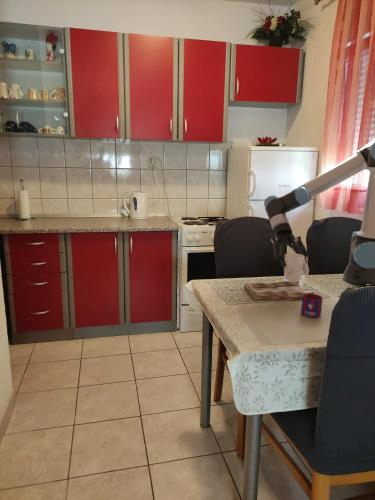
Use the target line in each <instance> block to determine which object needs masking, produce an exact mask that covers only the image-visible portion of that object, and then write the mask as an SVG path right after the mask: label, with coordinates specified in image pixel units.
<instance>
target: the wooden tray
mask: <svg viewBox="0 0 375 500" xmlns="http://www.w3.org/2000/svg"><path fill="white" fill-rule="evenodd" d="M243 286H244V288H245V289H246V291H247V292H248V293H249V294H250V296H251V297H252V298H253V300H254V301H282V300H283V301H287V300H288V301H289V300H294V301H295V300H302V297H303V295H304V294H311V293H314V291H312V290H311V291H309V290H308V291H307V290H305V289H304V288H303V287H302V286H301V285H300V281H289V280H272V281H260V282H259V281H255V282H253V281H251V282H250V281H249V282H245V284H244V285H243Z"/></svg>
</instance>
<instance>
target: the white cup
mask: <svg viewBox="0 0 375 500" xmlns="http://www.w3.org/2000/svg"><path fill="white" fill-rule="evenodd" d="M284 258H286V260H287V261H288V264H289V267H290V270H291V273H290V274H289V275H286V272H285V269H284V268H283V272H284V275H283V276H284V277H283V278H284V279H285V281H299V282H300V281H301V279H302V274H303V272H304V271H303V264H304V258H305V256H303V255H301V254H296V253H295V252H294V253H292V252H291V253H284Z"/></svg>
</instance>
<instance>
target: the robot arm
mask: <svg viewBox="0 0 375 500" xmlns="http://www.w3.org/2000/svg"><path fill="white" fill-rule="evenodd" d="M364 170H367V171H369V177H368V183H367V188H366V194H365V200H364V201H365V202H364V206H363V207H364V209H363V214H362V220H361V226H360V230H359V231H353V232H352V236H351V239H350V240H351V242H350V251H349V257H348V258H349V259H348V264H347V266H346V268H345V270H344V272H343V273H342V274H343V275H342V276H343V277H342V280H344V281H345V282H347V283H351V284H354V285H359V284H375V137H374V138H373V139H372V140H371V141H370V142H368V143H367V144H366V145H365V146H363V147H361V148H360V149H359V150H356V154H354V155H352V156H351V157H349V158H347V159H345V160H343V161H342V162H340V163H339V164H337V165H335V166H333V167H331V168H329V169H328V170H327V171H325V172H323V173H321V174H319V175H317V176H316V177H313V178H311V179H310V180H308V181H307V182H305V183H304V184H302V185H300V186H298V187H297V188H294V189H293V190H291V191H290V192H288V193H286V194H285V195H284V194H283V196H278V195H276V194H273V195H269V196H268V197H266V198H265V199H264V201H263V205H264V210H265V212H266V214H267V217H268V220H269V223H270V225H271V226H270V227H271V228H272V232H273V235H274V236H272V237H271V238H270V240H269V241H270V243H271V246H272V250H273V251H272V252H273V257H274V260H276V261H278V262H279V263H280V265H281V267H282V268H283V270H284V269H285V272H286V275H289V274H290V273H291V270H290V267H289V264H288V261H287V260H286V258H285V251H286V249H285V248H286V247H289V248H290V249H292V251H293V252H294V253H295V254H301V255H303V256H305V258H304V264H303V271H302V272H303V273H304V275H307V274H308V273H309V272H310V268H309V266H308V265H309V263H308V260H307V258H308V257H309V256H310V253H309V252H308V250H307V247H305V245H304V243H303V241H302V237H301V236H300V235H298V236H295V235H294V234H293V230H292V227H291V225H290V222H289V219H288V217H287V215H286V214H287V213H289V212H291V211H293V210H296V209H298V208H300V207H302V206H305V205H306V204H308V203H310V202H311V199H313V198H314V197H316V196H318V195H320V194H322V193H324V192H326V191H327V190H330V189H331V188H333V187H334V186H337V185H338V184H340V183H342V182H344V181H346V180H348V179H350V178H352V177H353V176H355V175H357V174H359V173H360V172H363V171H364Z"/></svg>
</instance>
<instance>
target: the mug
mask: <svg viewBox="0 0 375 500" xmlns="http://www.w3.org/2000/svg"><path fill="white" fill-rule="evenodd" d="M322 306H323V296H321V295H319V294H317V293H314V292H313V293H311V294H304V295H303V297H302V299H301V309H300V311H301V312H300V313H301V316H303V317H305V318H308V319H319V318H321V315H322Z"/></svg>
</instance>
